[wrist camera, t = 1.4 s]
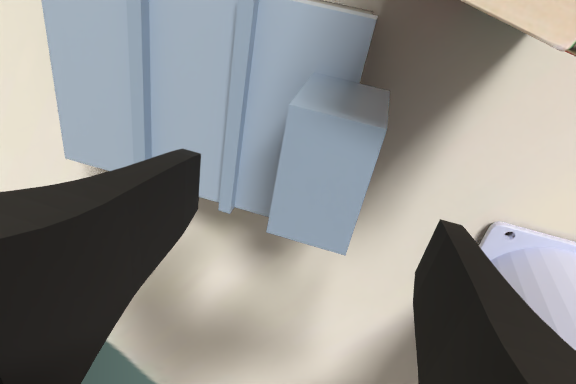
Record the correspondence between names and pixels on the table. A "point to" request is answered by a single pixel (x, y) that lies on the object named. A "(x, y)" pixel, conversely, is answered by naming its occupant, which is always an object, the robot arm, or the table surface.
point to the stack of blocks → (536, 19)
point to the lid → (227, 101)
